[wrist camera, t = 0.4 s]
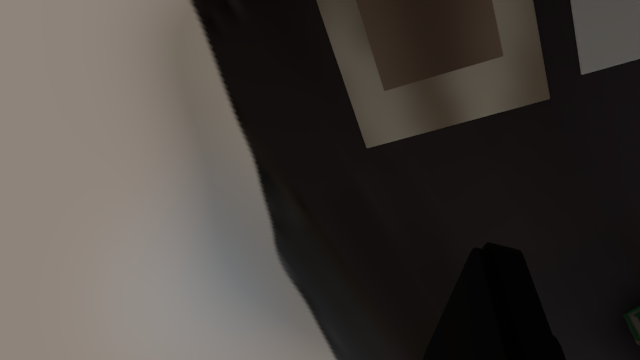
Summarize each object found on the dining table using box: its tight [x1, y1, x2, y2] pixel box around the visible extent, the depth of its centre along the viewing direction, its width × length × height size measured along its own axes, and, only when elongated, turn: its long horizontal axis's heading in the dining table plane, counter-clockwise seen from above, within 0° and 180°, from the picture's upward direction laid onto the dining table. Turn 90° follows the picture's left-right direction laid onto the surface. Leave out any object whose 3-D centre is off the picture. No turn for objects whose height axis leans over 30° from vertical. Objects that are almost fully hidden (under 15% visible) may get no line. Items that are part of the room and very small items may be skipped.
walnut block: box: [356, 0, 503, 91], centre depth 30 cm, size 6×6×7 cm
